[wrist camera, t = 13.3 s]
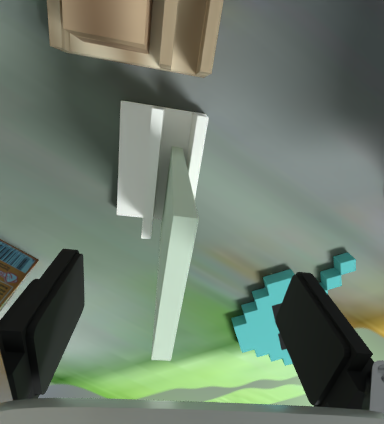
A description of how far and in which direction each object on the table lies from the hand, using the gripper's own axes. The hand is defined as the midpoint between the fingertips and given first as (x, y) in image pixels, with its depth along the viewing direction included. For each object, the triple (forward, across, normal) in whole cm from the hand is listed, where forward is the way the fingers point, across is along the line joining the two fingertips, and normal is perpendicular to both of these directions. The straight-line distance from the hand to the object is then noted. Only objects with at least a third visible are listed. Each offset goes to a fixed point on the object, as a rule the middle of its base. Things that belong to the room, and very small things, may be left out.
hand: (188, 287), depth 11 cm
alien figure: (+23, -22, +23) cm, 39 cm away
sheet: (+20, +1, +2) cm, 20 cm away
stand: (+21, +3, 0) cm, 21 cm away
